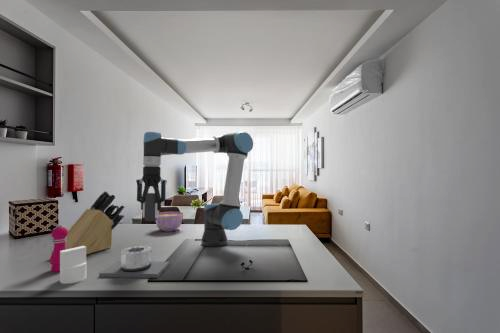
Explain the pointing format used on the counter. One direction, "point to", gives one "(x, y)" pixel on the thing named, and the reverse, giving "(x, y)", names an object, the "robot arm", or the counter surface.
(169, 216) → the bowl of food
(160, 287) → the counter surface
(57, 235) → the pepper mill
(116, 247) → the counter surface
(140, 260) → the light gray faceted ring
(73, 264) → the cylinder with rectangular tab
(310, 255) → the counter surface
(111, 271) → the grey rectangular board
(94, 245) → the knife block
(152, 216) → the dark grey tall cylinder
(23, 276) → the counter surface
